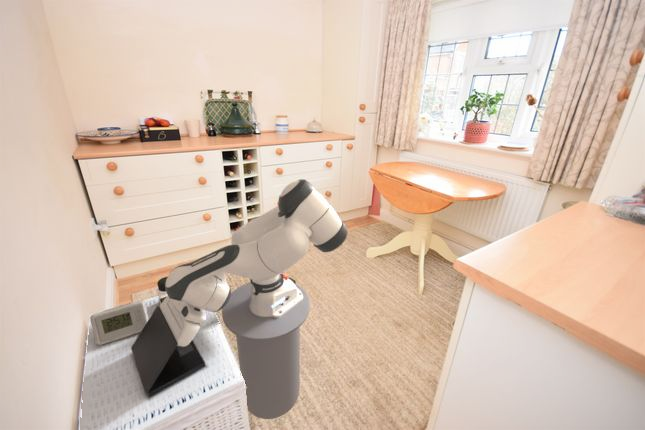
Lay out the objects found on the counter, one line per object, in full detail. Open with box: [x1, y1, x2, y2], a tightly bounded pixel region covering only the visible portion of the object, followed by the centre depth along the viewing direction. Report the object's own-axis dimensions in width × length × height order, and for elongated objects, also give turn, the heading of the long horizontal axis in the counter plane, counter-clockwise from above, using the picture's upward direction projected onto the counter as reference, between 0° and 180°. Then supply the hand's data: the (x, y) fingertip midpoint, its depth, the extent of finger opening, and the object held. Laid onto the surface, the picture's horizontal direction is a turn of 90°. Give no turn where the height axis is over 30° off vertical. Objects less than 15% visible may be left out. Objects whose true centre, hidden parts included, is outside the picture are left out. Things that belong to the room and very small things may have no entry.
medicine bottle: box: [156, 276, 168, 305], centre depth 116 cm, size 7×7×12 cm
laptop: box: [147, 340, 206, 398], centre depth 95 cm, size 16×20×2 cm
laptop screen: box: [130, 305, 178, 394], centre depth 90 cm, size 16×20×1 cm
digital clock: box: [89, 300, 150, 346], centre depth 102 cm, size 16×9×11 cm, turn 110°
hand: (160, 340), depth 91 cm, fingers closed, pressing on laptop screen
